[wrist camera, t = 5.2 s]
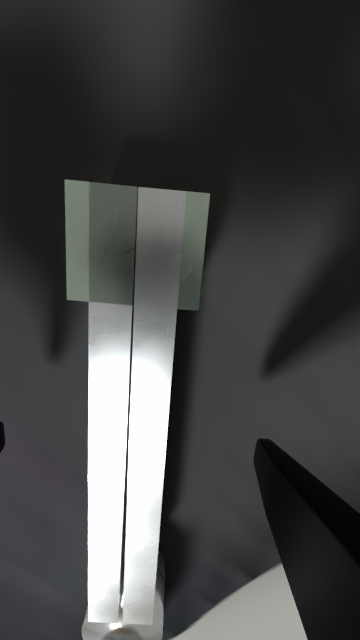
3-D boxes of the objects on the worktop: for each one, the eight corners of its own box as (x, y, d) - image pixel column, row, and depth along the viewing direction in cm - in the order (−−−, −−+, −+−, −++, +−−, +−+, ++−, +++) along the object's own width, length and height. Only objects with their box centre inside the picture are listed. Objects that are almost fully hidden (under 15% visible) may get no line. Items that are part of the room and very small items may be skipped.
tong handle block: (158, 634, 14) (154, 731, 11) (98, 631, 14) (77, 729, 11) (167, 542, 12) (164, 629, 9) (99, 539, 12) (75, 624, 9)
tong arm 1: (131, 544, 12) (117, 623, 9) (96, 542, 12) (72, 621, 9) (150, 212, 8) (137, 187, 6) (100, 207, 8) (64, 179, 6)
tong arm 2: (169, 546, 12) (167, 625, 9) (134, 544, 12) (122, 623, 9) (199, 216, 8) (210, 193, 6) (150, 212, 8) (138, 186, 6)
